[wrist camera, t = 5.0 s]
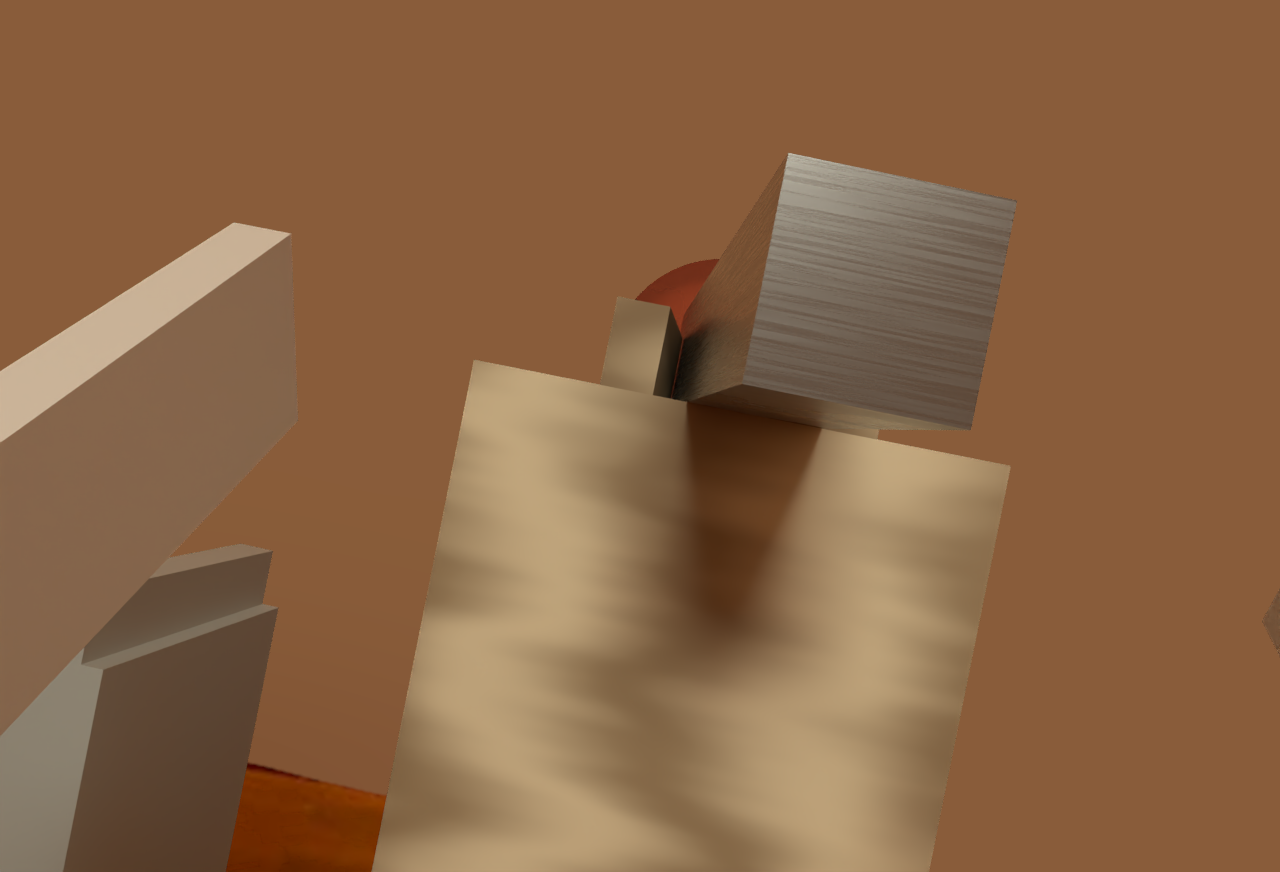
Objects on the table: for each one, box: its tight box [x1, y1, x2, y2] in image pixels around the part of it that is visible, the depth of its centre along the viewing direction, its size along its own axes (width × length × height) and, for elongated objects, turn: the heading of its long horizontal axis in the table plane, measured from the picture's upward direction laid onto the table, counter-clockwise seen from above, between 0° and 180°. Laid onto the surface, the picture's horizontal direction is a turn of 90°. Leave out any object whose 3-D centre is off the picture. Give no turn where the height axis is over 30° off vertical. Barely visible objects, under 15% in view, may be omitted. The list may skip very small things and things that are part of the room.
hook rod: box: [635, 153, 1017, 430], centre depth 25 cm, size 7×22×7 cm, turn 0°
